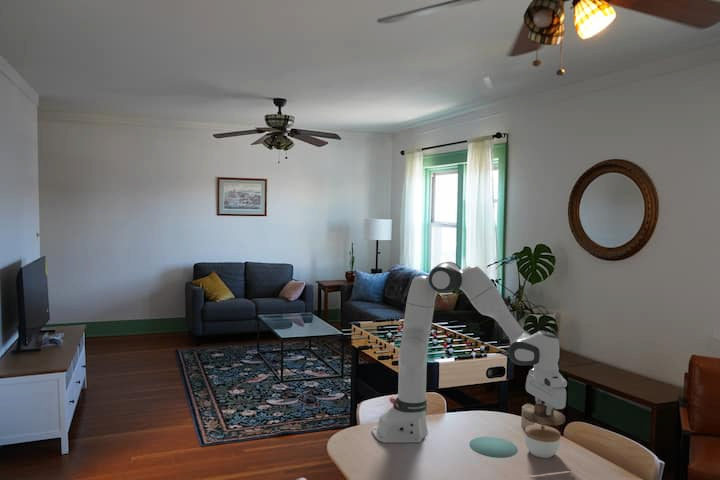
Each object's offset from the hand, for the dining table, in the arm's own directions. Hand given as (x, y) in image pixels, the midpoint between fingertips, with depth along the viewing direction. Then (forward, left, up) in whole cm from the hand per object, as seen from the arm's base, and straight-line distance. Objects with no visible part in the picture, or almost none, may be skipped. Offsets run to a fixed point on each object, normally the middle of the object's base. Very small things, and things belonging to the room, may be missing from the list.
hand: (543, 412), depth 208 cm
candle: (+9, +23, -17) cm, 30 cm away
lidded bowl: (0, 0, -17) cm, 17 cm away
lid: (0, 0, -2) cm, 2 cm away
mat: (-15, +9, -16) cm, 24 cm away
